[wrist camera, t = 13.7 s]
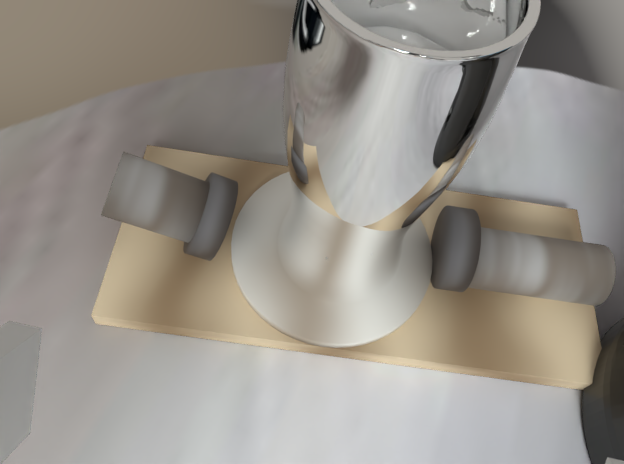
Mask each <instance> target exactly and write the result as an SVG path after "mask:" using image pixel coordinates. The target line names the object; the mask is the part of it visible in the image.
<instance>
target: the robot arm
mask: <svg viewBox="0 0 624 464" xmlns="http://www.w3.org/2000/svg"><path fill="white" fill-rule="evenodd" d="M41 333H42V328H39V327H35V326H30V325H26V324H21V323H17V322H13V321H8V322H7V323H5V324H4V325H2V326H1V327H0V464H1V463H2V462H3V461H4V460H5V459H6V458H7V457H8V456H9V455H10V454H11V453H12V452H13V451H14V450H15V449H16V448H17V447H18V446H19V444H20V443H21V442H22V441H23V440H24V439H25V438H26V437H27V436H28V435H29V434H30V430H31V421H32V412H33V403H34V395H35V386H36V377H37V368H38V359H39V350H40V341H41ZM600 342H601V347H602V349H601V352H600V354H599V357H598V359H597V363H596V366H595V371H594V376H593V383H592V384H591V385H589V386H587V387H586V388H584V389H583V403H582V409H583V424H584V432H585V437H586V443H587V447H588V451H589V455H590V458H591V462H592V464H624V318H623V319H622V320H620V321H619V322H618V323H616V324H615V325H614V326H613V327H612V328H611V329H610V330H609V331H608V332H607V333H606V334H605V336H604V337H603V338H602V339H601V341H600Z"/></svg>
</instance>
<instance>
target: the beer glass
mask: <svg viewBox="0 0 624 464" xmlns="http://www.w3.org/2000/svg"><path fill="white" fill-rule="evenodd" d="M540 8H541V0H297V4H296V8H295V13H294V18H293V24H292V29H291V34H290V40H289V46H288V53H287V60H286V67H285V76H284V94H283V121H284V136H285V145H286V152H287V160H288V167H289V173H290V180H291V188H292V201H291V205H290V207H289V209H288V211H287V213H286V215H285V217H284V219H283V221H282V224H281V226H280V229H279V234H278V240H277V249H278V255H279V259H280V262H281V264H282V267H283V269H284V271H285V272H286V274H287V275H288V277H289V278H290V279H291V280H292V282H293V283H294V284H295V285H296V286H298V287H299V288H300V289H301V290H303V291H304V292H306V293H307V294H309V295H311V296H313V297H315V298H317V299H320V300H323V301H326V302H331V303H339V304H349V303H356V302H361V301H364V300H367V299H369V298H371V297H373V296H375V295H377V294H378V293H380V292H381V291H382V290H383V289H384V288H385V287H387V286H388V284H389V283H390V282H391V281H392V279H393V278H394V276H395V274H396V272H397V270H398V267H399V264H400V260H401V254H402V247H403V240H404V237H405V235H406V233H407V231H408V230H409V228H410V227H411V226H412V225H413V224H414V223H415V222H416V220H417V219H418V218H419V217H420V216H421V215H422V214H423V213H424V212H425V211H426V210H427V209H428V208H429V207H430V206H431V205H432V204H433V203H434V201H435V200H436V199H437V198H438V197H439V196H440V195H441V194H442V193H443V192H444V191H445V189H446V188H447V187H448V186H449V185H450V183H451V182H452V181H453V180H454V178H455V177H456V176H457V174H458V173H459V172H460V171H461V169H462V168H463V167H464V166H465V164H466V163H467V161H468V160H469V158H470V157H471V155H472V153H473V152H474V150H475V149H476V147H477V145H478V144H479V142H480V140H481V139H482V137H483V136H484V134H485V132H486V130H487V128H488V126H489V124H490V122H491V120H492V118H493V116H494V114H495V112H496V110H497V108H498V106H499V104H500V102H501V100H502V98H503V96H504V93H505V91H506V89H507V86H508V84H509V82H510V80H511V77H512V75H513V73H514V70H515V68H516V66H517V63H518V61H519V58H520V56H521V53H522V51H523V49H524V46H525V44H526V42H527V40H528V37H529V35H530V33H531V32H532V30H533V29H534V27H535V25H536V23H537V21H538V18H539V14H540Z"/></svg>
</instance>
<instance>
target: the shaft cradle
mask: <svg viewBox="0 0 624 464" xmlns="http://www.w3.org/2000/svg"><path fill="white" fill-rule="evenodd" d="M291 201H292V188H291V180H290V173H289V167H288V166H283V165H276V164H270V163H263V162H256V161H250V160H243V159H236V158H230V157H223V156H216V155H210V154H203V153H197V152H190V151H183V150H177V149H170V148H163V147H157V146H150V145H147V148H146V151H145V154H144V157H143V159H142V158H140V157H137V156H134V155H131V154H129V153H126V152H123V154H122V157H121V160H120V162H119V165H118V168H117V171H116V174H115V177H114V179H113V182H112V185H111V188H110V191H109V194H108V197H107V199H106V202H105V205H104V208H103V211H102V214H101V215H102V216H105V217H108V218H111V219H114V220H117V221H121V222H122V224H121V227H120V230H119V233H118V236H117V239H116V242H115V245H114V248H113V251H112V254H111V257H110V260H109V263H108V266H107V269H106V272H105V275H104V278H103V281H102V284H101V287H100V291H99V294H98V297H97V300H96V303H95V306H94V309H93V312H92V315H91V316H92V318H93V319H94V321H95V323H96V324H101V325H108V326H115V327H123V328H130V329H137V330H145V331H152V332H159V333H167V334H174V335H181V336H189V337H196V338H204V339H211V340H218V341H226V342H233V343H240V344H248V345H255V346H262V347H270V348H277V349H284V350H292V351H299V352H307V353H314V354H321V355H329V356H336V357H343V358H351V359H358V360H365V361H373V362H380V363H387V364H395V365H402V366H409V367H417V368H424V369H432V370H439V371H446V372H454V373H461V374H468V375H476V376H483V377H490V378H498V379H505V380H512V381H520V382H527V383H535V384H542V385H549V386H557V387H564V388H571V389H579V390H583V389H584V388H586V387H587V386H589V385H591V384H592V383H593V376H594V371H595V366H596V363H597V359H598V357H599V354H600V352H601V349H602V347H601V342H600V336H599V330H598V325H597V319H596V314H595V308H594V306H598V305H601V304H602V303H603V302H605V301H606V299H607V298H608V297H609V295H610V293H611V291H612V289H613V286H614V282H615V275H616V265H615V259H614V256H613V254H612V252H611V250H610V249H609V248H608V247H606V246H604V245H598V244H592V243H585V242H583V241H582V235H581V229H580V224H579V218H578V213H577V210H575V209H568V208H562V207H555V206H549V205H542V204H535V203H529V202H522V201H515V200H509V199H502V198H495V197H489V196H482V195H476V194H469V193H462V192H456V191H449V190H445V191H444V192H443V193H442V194H441V195H440V196H439V197H438V198H437V199H436V200H435V201H434V203H433V204H432V205H431V206H430V207H429V208H428V209H427V210H426V211H425V212H424V213H423V214H422V215H421V216H420V217H419V218H418V219H417V220H416V222H415V223H414V224H413V225H412V226H411V227H410V228H409V230H408V231H407V233H406V235H405V237H404V240H403V247H402V254H401V260H400V264H399V267H398V270H397V272H396V274H395V276H394V278H393V279H392V281H391V282H390V283H389V284H388V286H387V287H385V288H384V289H383V290H382V291H381V292H380V293H378V294H377V295H375V296H373V297H371V298H369V299H367V300H364V301H361V302H356V303H349V304H339V303H331V302H326V301H323V300H320V299H317V298H315V297H313V296H311V295H309V294H307V293H306V292H304V291H303V290H301V289H300V288H299V287H298V286H296V285H295V284H294V283H293V282H292V280H291V279H290V278H289V277H288V275H287V274H286V272H285V271H284V269H283V267H282V264H281V262H280V259H279V255H278V249H277V240H278V234H279V229H280V226H281V224H282V221H283V219H284V217H285V215H286V213H287V211H288V209H289V207H290V205H291Z"/></svg>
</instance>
